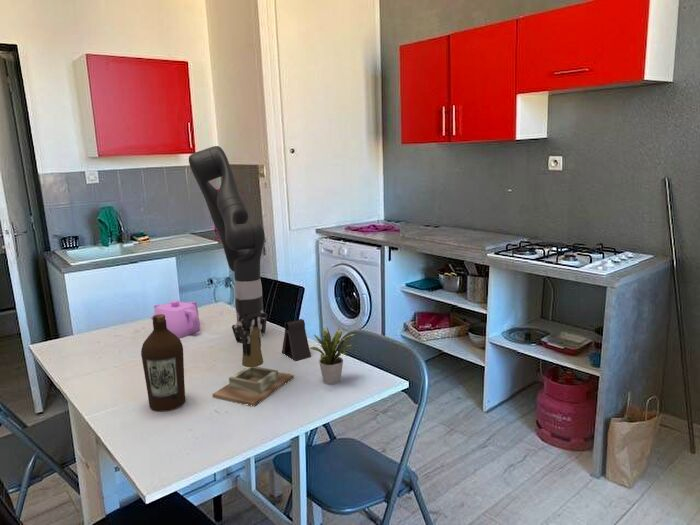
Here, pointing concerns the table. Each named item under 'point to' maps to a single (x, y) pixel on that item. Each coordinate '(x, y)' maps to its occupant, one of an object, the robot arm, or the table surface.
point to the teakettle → (180, 317)
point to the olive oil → (163, 367)
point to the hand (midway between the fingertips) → (252, 352)
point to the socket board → (252, 385)
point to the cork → (253, 350)
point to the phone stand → (295, 340)
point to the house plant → (331, 356)
